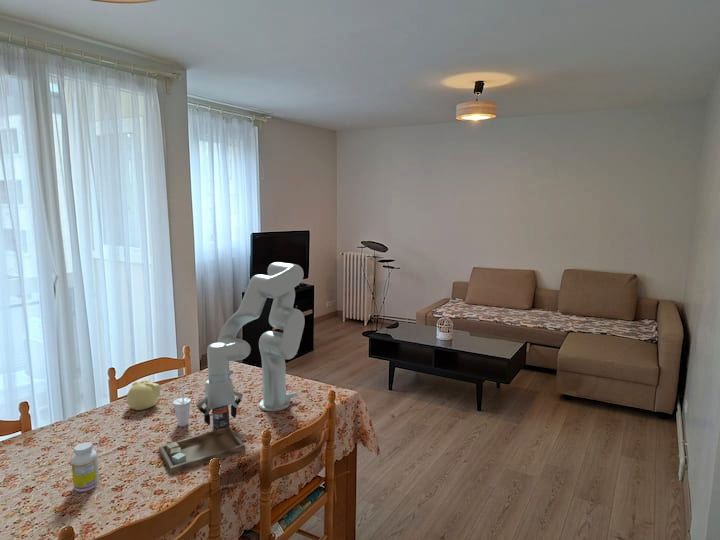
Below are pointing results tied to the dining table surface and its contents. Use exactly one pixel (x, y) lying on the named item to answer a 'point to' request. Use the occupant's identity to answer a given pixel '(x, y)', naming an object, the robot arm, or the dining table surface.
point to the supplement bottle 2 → (220, 417)
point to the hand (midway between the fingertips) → (220, 420)
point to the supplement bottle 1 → (84, 467)
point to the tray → (204, 448)
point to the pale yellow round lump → (143, 395)
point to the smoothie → (182, 410)
